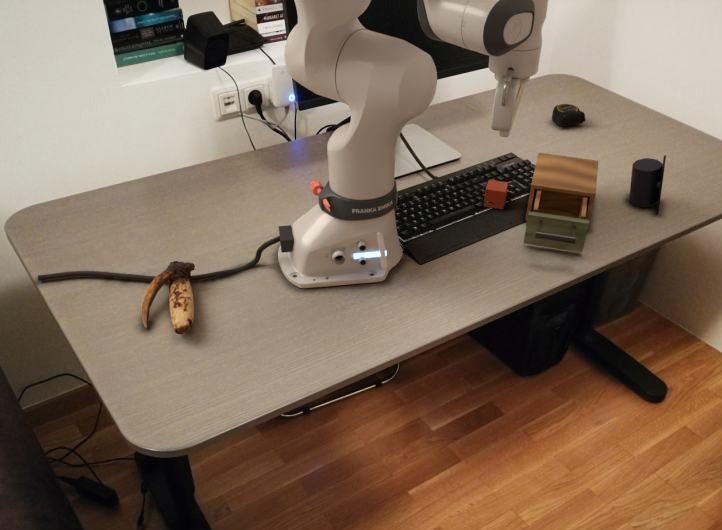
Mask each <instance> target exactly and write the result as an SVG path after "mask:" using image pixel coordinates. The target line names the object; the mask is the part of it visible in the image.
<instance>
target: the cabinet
mask: <svg viewBox="0 0 722 530" xmlns="http://www.w3.org/2000/svg"><path fill="white" fill-rule="evenodd" d="M598 170H599V160H595V159H589V158H582V157H581V158H580V157H574V156H567V155H560V154H559V155H558V154H552V153H544V152H538V153H537V156H536V161H535V167H534V170H533V171H534V172H533V175H532V179H531V184H530V189H529V196H528V201H527V208H526V214H525V220H524V221H525V222H527V219H528V213H529V211H531V212H533V209H534V204H535V199H536V194H537V189H540V190H547V191H554V192H561V193H568V194H575V195H582V196H588V198H587V209H586V218H585V220H589V221H590V220H591V215H592V211H593V207H594V203H595V199H596V194H597V185H598V184H597V182H598Z"/></svg>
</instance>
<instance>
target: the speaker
mask: <svg viewBox="0 0 722 530" xmlns="http://www.w3.org/2000/svg"><path fill="white" fill-rule="evenodd" d="M666 161H667V155H666V154H665V155H663V160H662V161H660V160H659V159H655V158H650V157H648V158H647V157H645V158H640V159H637V160H635V161H634V162H633V163H632V166H631V177H630V187H629V197H628V202H629V203H631V204H632V205H633V206H635V207H639V208H649V207H653V206H655V205H657V206H656V211H655V212H656V213H655V215H659V212H660V206H661V205H660V204H661V199H662V189H663V182H664V176H665V175H664V174H665V167H666Z"/></svg>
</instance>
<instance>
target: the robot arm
mask: <svg viewBox="0 0 722 530" xmlns="http://www.w3.org/2000/svg"><path fill="white" fill-rule="evenodd" d="M371 2H372V0H294V4H295V8H296V14H297V15H296V16H297V23H296V24H295V25H294V27H293V28H292V29H291V30H290V32H289V34H288V36H287V39H286V41H285V45H284V63H285V68H286V70H287V73H288V75H289V76H290V77H291V79H292V80H294V81H295V82H297V83H298V84H299V85H301V86H303V87H304V88H306V89H307V90H309V91H310V92H312V93H314V94H316V95H318V96H321V97H324V98H327V99H330V100H333V101H336V102H339V103H342V104H345V105H347V106H348V107H349V110H350V122H347V123H344V124H342V125H341V126H339V127H338V128H337V129H335V130H334V131H333V133H332V134H331V135H330V137H329V139H328V141H327V145H326V152H327V168H328V180H327V182H326V184H325V185H324V186H323V184H322V182H321V181H319V180H313V181H311V183H310V186H309V188H310V190H311V191H312V193H313V195H314V196H318V203H316V204H315V205H314V206H312V208H310V209H309V210H307V211H306V212H305V213H304V214H302V215H301V216H300V217H299V218H298V219H296V220H295V221H294V222H293V223H292V225H291V224H289V225H279V226H278V234H279V235H278V236H275V237H274V238H271V239H269V240H267V241H265V242H264V243H262V244H261V245H260V246H259V247H258V248H257V249H256V252H255V256H254V258H253V259H252V260H251V261H250V262H248V263H246V264H245V265H243V266H239V267H236V268H232V269H225V270H224V269H223V270H219V271H218V270H217V271H213V272H208V273H202V274H194V275H191V276H190V277H189V281H190V282H195V281H203V280H208V279H214V278H219V277H225V276H231V275H235V274H238V273H240V272H241V273H242V272H244V271H247V270H249V269H251V268H253V267H254V266H256V265H257V264H258V263H259V262H260V260H261V257H262V253H263V252H264V251H265V250H266V249H268V248H269V247H271V246H273V245H275V244H277V243H279V244H280V245H279V248H278V250H277V251H278V252H277V259H278V265H279V268H280V270H281V272H282V274H283V275H284V277H285V278H286V280H288V281H289V282H290V283H291V284H292V285H293V286H296V287H298V288H299V289H312V288H323V287H334V286H337V287H338V286H347V285H357V284H358V285H359V284H370V283H380V282H383V281H385V280H386V279H387V277H388V274H389V272H390V271H391V270H392V269H393V268H394V267H395V266H397V265H398V264H399V263H400V261H401V259H402V257H403V248H402V247H403V246H402V245H401V242H400V237H399V234H398V230H397V229H398V228H397V220H396V212H397V209H398V208H397V207H398V205H397V204H398V186H397V181H396V180H395V173H396V172H395V169H396V168H395V167H396V153H397V146H398V145H397V144H398V140H399V137H400V135H401V133H402V131H403V130H404V128H405V127H406V125H408V124H409V123H410V122H411V121H413V120H415V119H417V118H418V117H420V116H421V115H422V114H423V113H425V112H426V110H427V109H428V108H429V107H430V105H431V104H432V102H433V100H434V98H435V95H436V91H437V87H438V73H437V67H436V65H435V64H436V63H435V62H434V61H435V60H434V59H433V57H432V56H431V54H429V53H427V52H426V51H424V50H423V49H421V48H419V47H418V46H416V45H414V44H413V43H410V42H408V41H407V40H405V39H402V38H399V37H395V36H391V35H388V34H384V33H380V32H377V31H373V30H370V29H368V28H366V27H365V26H364V25H363V24H362V23H361V22H360V20H359V17H360V16H361V15H362V14H363V13H365V11H366V10H367V9H368V7H369V6H370V4H371ZM548 6H549V0H417V1H416V7H417V8H416V9H417V17H418V22H419V25H420V28H421V30H422V32H423V34H424V35H425V36H426V37H427V38H428V39H429V40H430V39H431V40H432V41H438V42H442V43H446V44H450V45H451V44H452V45H454V46H458V47H461V48H462V49H466V50H469V51H473V52H476V53H479V54H482V55H485V56H488V65H487V66H488V70H489V71H490V72H491V73H493V74H494V75H493V77H494V79H495V80H496V81H497V84H496V88H495V92H494V97H493V104H492V111H491V119H490V128H491V130H493V131H497V132H499V134H498V135H499V136H500V137H501V138H508V137H509V136H510V132H511V130H512V128H513V125H514V121H515V118H516V115H517V113H518V110H519V106H520V104H521V100H522V96H523V94H524V90H525V89H526V84H527V83H528V82H529V81H530V80H531V77H534V76H535V75H536V74H537V73H538V72H539V68H540V61H541V53H542V47H543V36H542V35H543V34H542V33H543V27H544V23H545V21H546V19H547V13H548ZM157 276H158V275H157ZM157 276H154V275H144V274H135V273H134V274H133V273H122V272H121V273H120V272H111V271H110V272H109V271H99V270H74V271H73V270H72V271H64V272H54V273H46V274H38V275H37V280H38V281H39V282H40V281H49V280H56V279H64V278H75V277H76V278H77V277H97V278H98V277H100V278H110V279H120V280H134V281H143V282H152V281H153V280H154V279H155V278H156V277H157Z"/></svg>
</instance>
